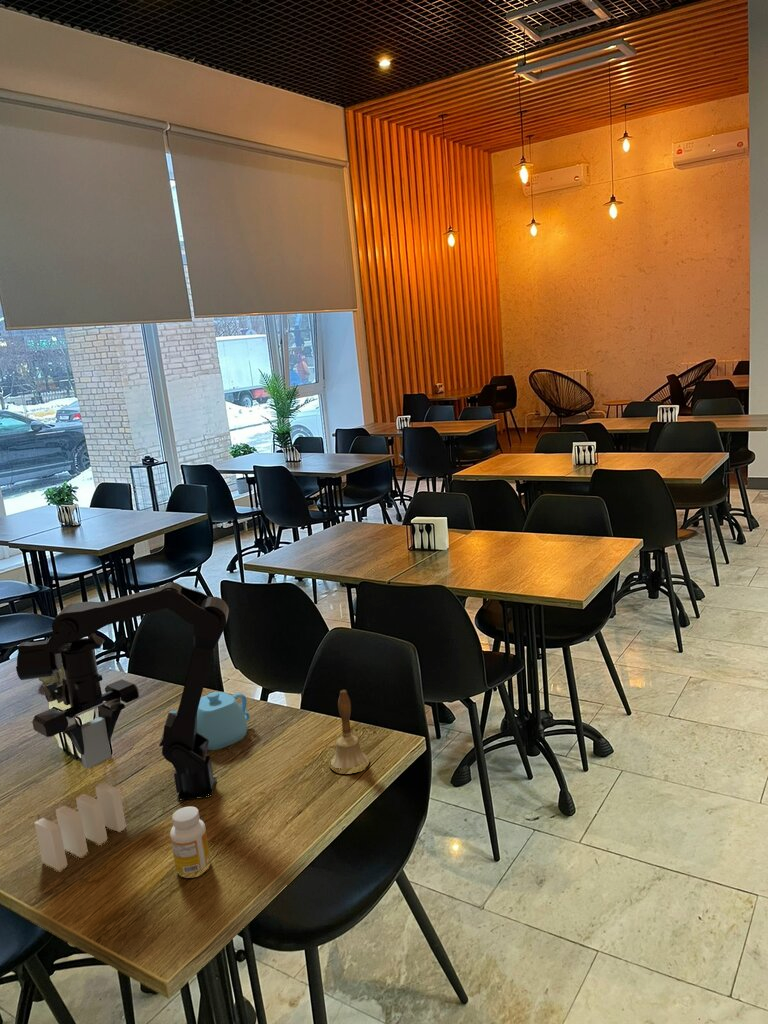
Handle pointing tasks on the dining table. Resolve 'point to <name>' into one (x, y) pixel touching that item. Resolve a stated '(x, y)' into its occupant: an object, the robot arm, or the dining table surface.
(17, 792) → the dining table surface
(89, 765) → the domino
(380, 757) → the dining table surface
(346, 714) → the hand bell
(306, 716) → the dining table surface
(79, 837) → the domino
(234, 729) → the teapot
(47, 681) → the vessel
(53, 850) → the domino
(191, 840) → the supplement bottle
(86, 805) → the domino
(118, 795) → the domino
